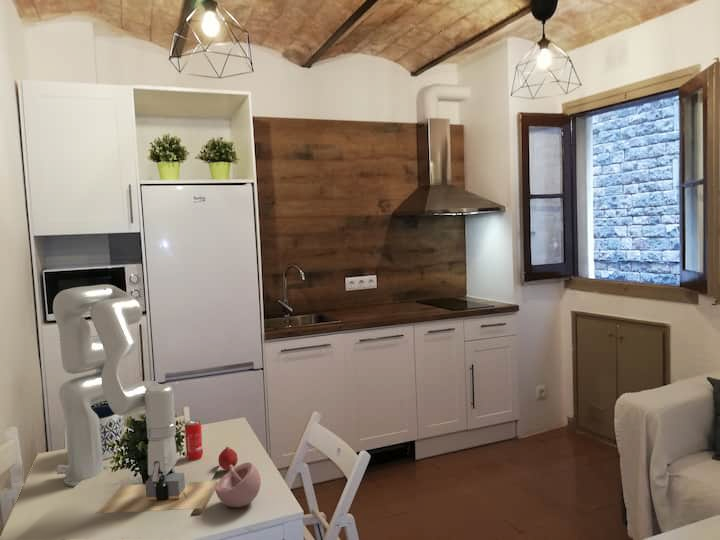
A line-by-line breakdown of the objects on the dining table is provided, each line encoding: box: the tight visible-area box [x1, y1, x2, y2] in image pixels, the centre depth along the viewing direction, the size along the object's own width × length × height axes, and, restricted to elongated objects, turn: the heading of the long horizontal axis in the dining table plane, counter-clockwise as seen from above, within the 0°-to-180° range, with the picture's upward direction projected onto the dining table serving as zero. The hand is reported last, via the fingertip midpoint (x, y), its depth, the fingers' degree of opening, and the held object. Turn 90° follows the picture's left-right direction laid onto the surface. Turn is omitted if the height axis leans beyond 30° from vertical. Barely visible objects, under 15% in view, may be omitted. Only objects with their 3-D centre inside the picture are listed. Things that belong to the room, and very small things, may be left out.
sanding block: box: [144, 472, 186, 500], centre depth 153 cm, size 9×5×5 cm, turn 90°
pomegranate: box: [217, 446, 239, 472], centre depth 171 cm, size 6×6×8 cm
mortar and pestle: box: [214, 461, 261, 508], centre depth 149 cm, size 12×12×11 cm
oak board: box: [95, 480, 218, 515], centre depth 153 cm, size 28×16×2 cm, turn 90°
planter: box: [91, 405, 125, 461], centre depth 190 cm, size 16×16×14 cm
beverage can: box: [184, 419, 204, 461], centre depth 182 cm, size 5×5×12 cm
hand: (166, 493), depth 153 cm, fingers closed on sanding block, 5 cm apart
